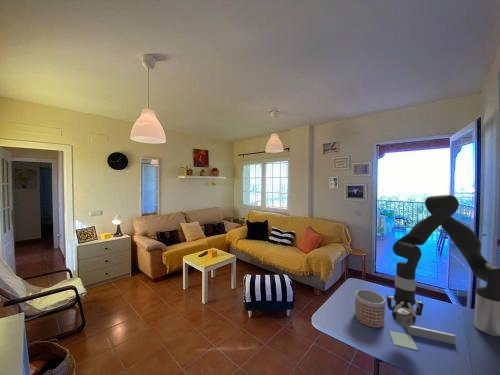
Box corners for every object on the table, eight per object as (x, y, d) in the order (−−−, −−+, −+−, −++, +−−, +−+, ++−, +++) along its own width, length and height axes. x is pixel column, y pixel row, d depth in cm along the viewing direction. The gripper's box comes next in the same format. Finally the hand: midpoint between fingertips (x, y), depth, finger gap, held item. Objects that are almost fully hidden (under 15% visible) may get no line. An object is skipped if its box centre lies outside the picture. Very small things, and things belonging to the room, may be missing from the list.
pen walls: (443, 328, 105) (443, 321, 105) (455, 344, 95) (455, 336, 95) (402, 320, 111) (402, 313, 111) (409, 334, 101) (410, 326, 101)
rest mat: (410, 335, 100) (410, 335, 100) (418, 350, 92) (418, 350, 92) (388, 330, 103) (388, 330, 103) (394, 344, 95) (394, 344, 95)
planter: (389, 330, 104) (390, 305, 103) (359, 326, 107) (360, 302, 106) (378, 312, 117) (378, 290, 117) (351, 309, 120) (352, 287, 119)
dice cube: (412, 325, 95) (412, 314, 95) (404, 327, 93) (404, 316, 93) (401, 318, 100) (402, 308, 99) (393, 320, 98) (394, 309, 98)
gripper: (420, 284, 97) (418, 319, 98) (384, 279, 102) (383, 312, 103) (427, 293, 90) (425, 330, 91) (388, 286, 95) (387, 322, 96)
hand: (403, 320), depth 97 cm, fingers closed on dice cube, 6 cm apart
